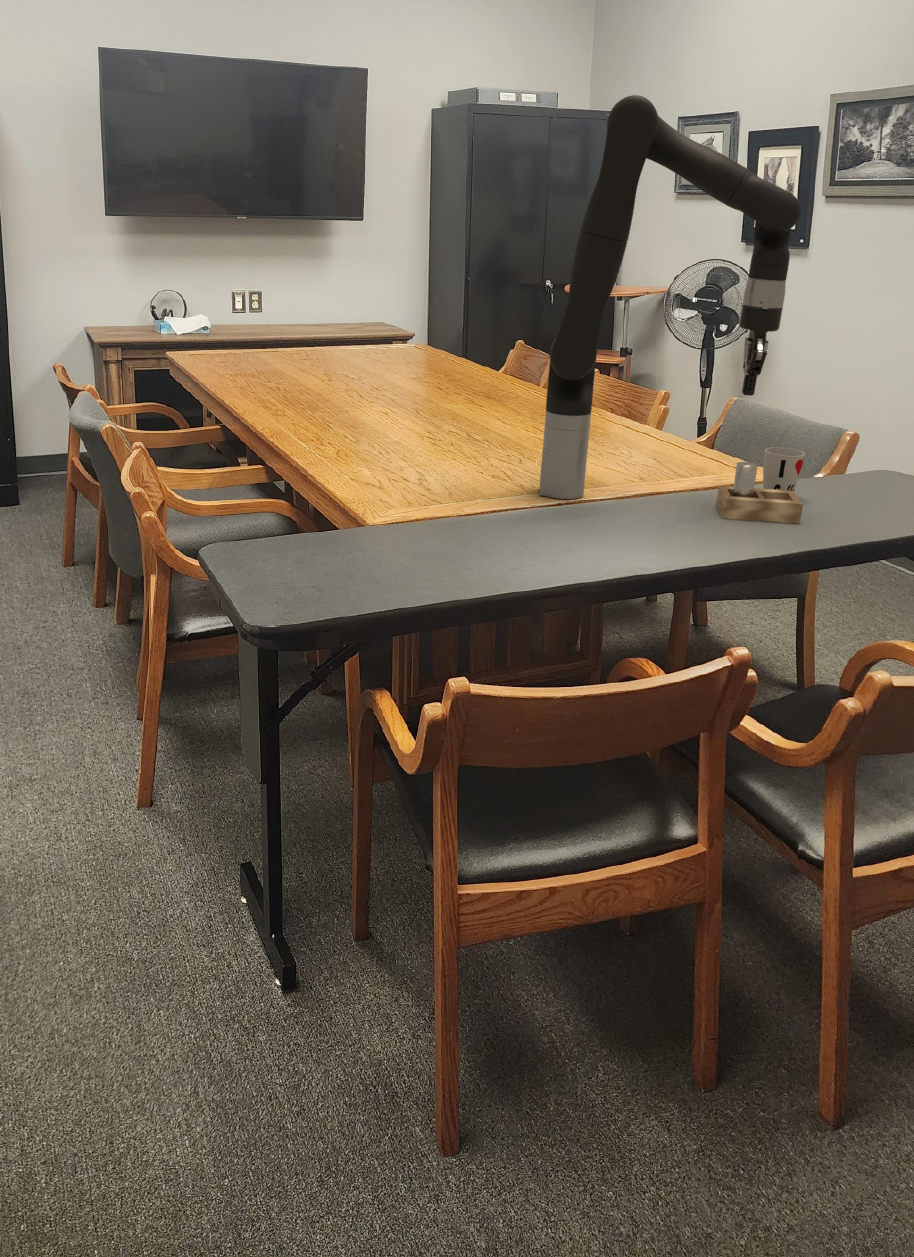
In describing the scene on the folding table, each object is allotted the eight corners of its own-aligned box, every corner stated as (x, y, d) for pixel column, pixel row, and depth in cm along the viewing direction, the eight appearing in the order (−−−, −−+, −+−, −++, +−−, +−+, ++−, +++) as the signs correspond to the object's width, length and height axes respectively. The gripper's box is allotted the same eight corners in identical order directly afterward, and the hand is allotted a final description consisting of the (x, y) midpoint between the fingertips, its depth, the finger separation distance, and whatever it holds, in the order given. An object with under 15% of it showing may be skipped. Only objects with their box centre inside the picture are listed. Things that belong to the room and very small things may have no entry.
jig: (722, 518, 210) (725, 498, 208) (716, 504, 219) (718, 485, 217) (799, 523, 208) (803, 504, 207) (789, 509, 218) (793, 490, 216)
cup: (770, 503, 221) (778, 456, 218) (750, 493, 229) (757, 447, 225) (804, 502, 223) (812, 455, 220) (783, 492, 231) (791, 446, 227)
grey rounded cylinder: (731, 514, 212) (738, 466, 208) (728, 509, 216) (735, 461, 212) (751, 516, 212) (759, 467, 208) (748, 510, 216) (755, 462, 212)
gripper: (738, 299, 209) (724, 387, 216) (747, 305, 197) (732, 399, 204) (777, 302, 208) (761, 390, 215) (788, 308, 196) (772, 402, 203)
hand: (747, 394), depth 209 cm, fingers closed
